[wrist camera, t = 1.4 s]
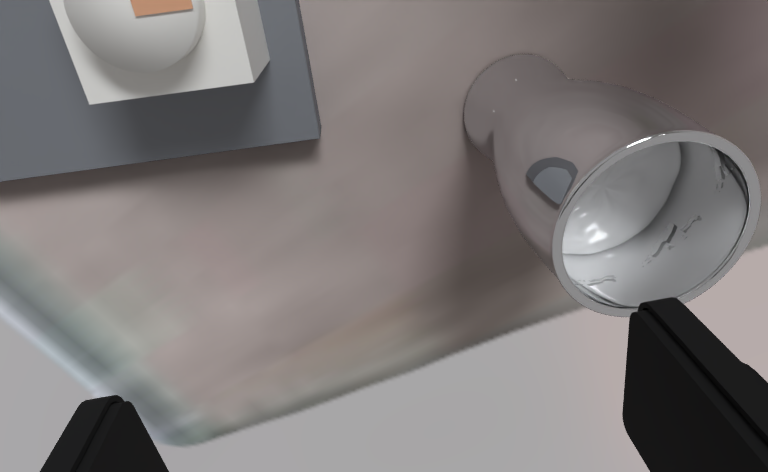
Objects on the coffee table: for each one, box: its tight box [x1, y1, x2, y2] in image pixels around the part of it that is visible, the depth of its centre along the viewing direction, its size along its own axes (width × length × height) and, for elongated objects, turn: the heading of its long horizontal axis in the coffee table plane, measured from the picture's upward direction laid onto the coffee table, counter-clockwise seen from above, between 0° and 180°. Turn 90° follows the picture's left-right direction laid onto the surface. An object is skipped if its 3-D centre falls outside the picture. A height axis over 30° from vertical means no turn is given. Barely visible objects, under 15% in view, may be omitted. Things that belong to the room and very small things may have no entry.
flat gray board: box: [0, 0, 321, 182], centre depth 23 cm, size 15×22×6 cm
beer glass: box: [464, 54, 761, 317], centre depth 23 cm, size 7×7×15 cm
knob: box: [49, 0, 270, 105], centre depth 21 cm, size 7×7×7 cm
